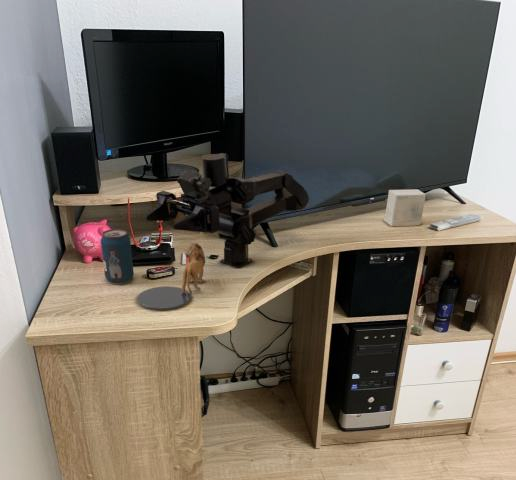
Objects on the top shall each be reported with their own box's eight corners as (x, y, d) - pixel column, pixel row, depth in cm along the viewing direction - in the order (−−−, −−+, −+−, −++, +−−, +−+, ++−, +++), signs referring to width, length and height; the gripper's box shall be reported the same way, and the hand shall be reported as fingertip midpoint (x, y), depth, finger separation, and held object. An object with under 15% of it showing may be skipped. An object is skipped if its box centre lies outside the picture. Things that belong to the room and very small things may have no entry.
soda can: (128, 272, 138) (123, 226, 132) (138, 281, 133) (133, 234, 127) (101, 277, 135) (95, 230, 129) (110, 287, 130) (104, 239, 124)
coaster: (164, 284, 132) (164, 282, 132) (201, 297, 126) (200, 295, 126) (126, 300, 124) (126, 298, 124) (163, 315, 118) (163, 313, 117)
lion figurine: (183, 275, 137) (184, 240, 133) (204, 276, 138) (206, 241, 134) (180, 296, 124) (181, 259, 120) (203, 298, 125) (205, 260, 121)
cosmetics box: (391, 227, 176) (396, 194, 171) (383, 221, 182) (388, 189, 177) (421, 225, 178) (426, 193, 173) (412, 219, 184) (417, 188, 178)
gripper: (178, 162, 131) (127, 179, 122) (234, 175, 121) (183, 195, 111) (184, 207, 138) (136, 226, 128) (238, 222, 127) (190, 245, 118)
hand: (159, 222), depth 121 cm, fingers open, 9 cm apart
